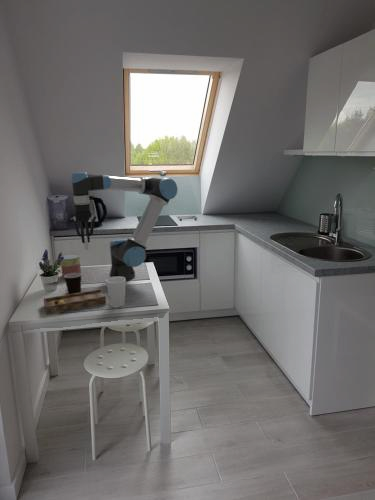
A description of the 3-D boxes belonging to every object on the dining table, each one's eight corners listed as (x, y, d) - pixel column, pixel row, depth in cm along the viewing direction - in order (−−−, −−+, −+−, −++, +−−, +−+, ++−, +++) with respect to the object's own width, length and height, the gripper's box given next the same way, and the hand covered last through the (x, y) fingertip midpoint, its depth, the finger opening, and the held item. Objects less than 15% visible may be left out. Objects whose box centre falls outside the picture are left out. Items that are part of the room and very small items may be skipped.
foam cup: (118, 309, 184) (116, 283, 181) (104, 306, 189) (101, 280, 186) (131, 303, 192) (129, 278, 189) (117, 299, 197) (115, 275, 194)
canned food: (64, 273, 243) (62, 254, 240) (83, 272, 243) (81, 253, 240) (60, 279, 232) (57, 259, 229) (79, 278, 232) (77, 258, 229)
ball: (65, 299, 191) (58, 298, 189) (66, 302, 188) (59, 301, 186) (63, 306, 191) (56, 305, 190) (64, 309, 188) (57, 308, 187)
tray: (100, 295, 203) (100, 289, 202) (105, 303, 192) (105, 296, 191) (44, 305, 192) (43, 298, 191) (46, 314, 181) (45, 307, 180)
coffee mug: (78, 296, 203) (76, 278, 200) (63, 295, 205) (61, 277, 202) (88, 288, 214) (86, 271, 211) (73, 288, 216) (71, 270, 213)
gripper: (93, 201, 201) (97, 245, 207) (67, 203, 196) (72, 249, 202) (96, 203, 194) (100, 248, 200) (69, 205, 189) (74, 252, 195)
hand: (86, 248), depth 201 cm, fingers closed
